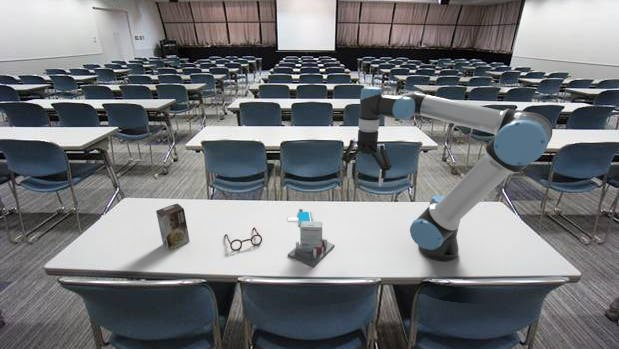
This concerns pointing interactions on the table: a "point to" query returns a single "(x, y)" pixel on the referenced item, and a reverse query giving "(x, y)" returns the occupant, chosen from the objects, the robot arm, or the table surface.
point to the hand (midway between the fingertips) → (364, 181)
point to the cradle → (310, 254)
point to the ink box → (311, 236)
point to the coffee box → (173, 226)
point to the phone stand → (301, 217)
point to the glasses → (244, 241)
